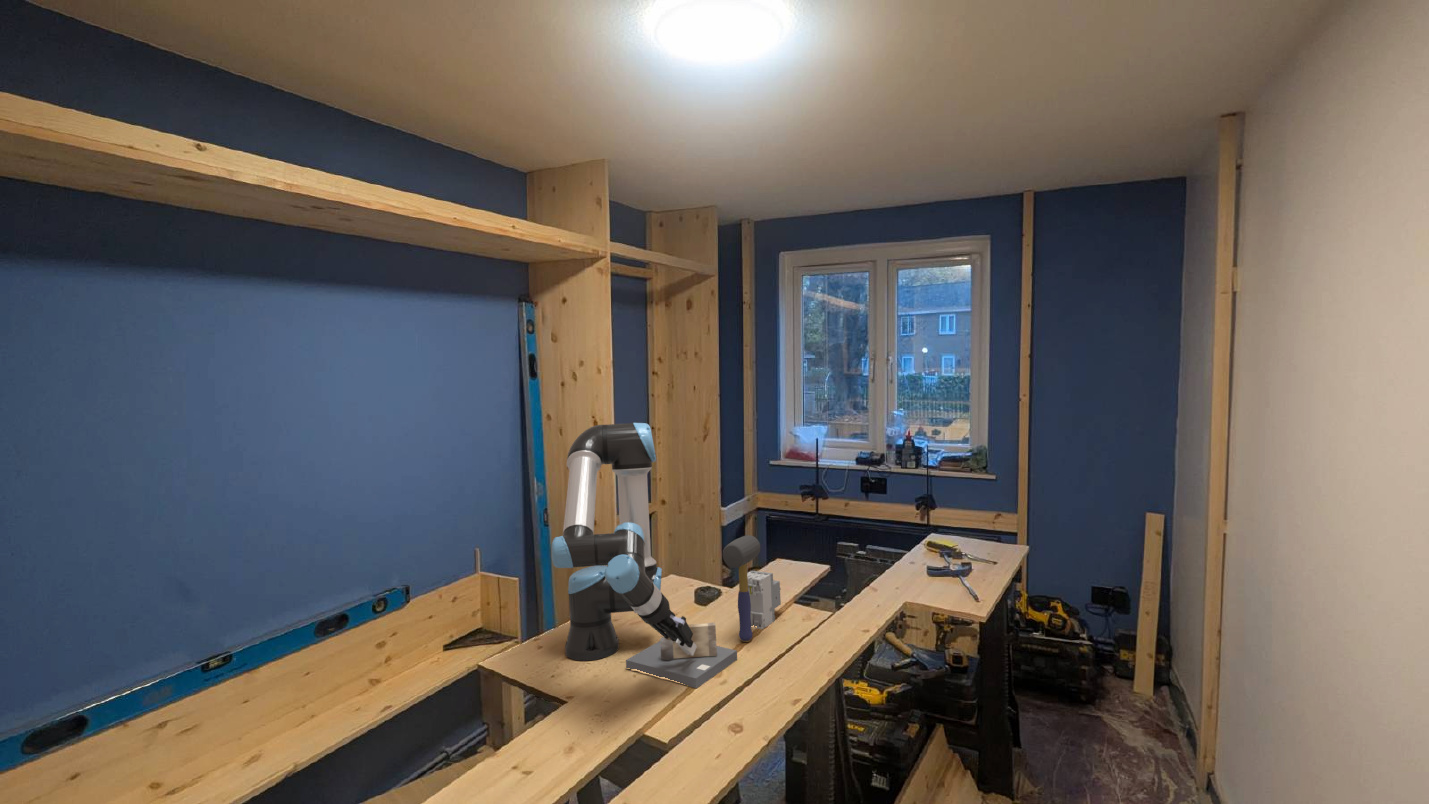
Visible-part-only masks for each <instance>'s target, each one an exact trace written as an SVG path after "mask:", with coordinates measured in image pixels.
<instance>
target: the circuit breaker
mask: <svg viewBox="0 0 1429 804" xmlns="http://www.w3.org/2000/svg"><path fill="white" fill-rule="evenodd" d="M747 577H748V591H749V595H750V602H751V614H750V619H751V626H753V625H754V627H755V626H757V628H756V629H758V630H764V629H766V628H767V627H768V626H770V625H771V624H773V623H775V621H776V614H775V610H776V609H777V607H779V606H781V604H782V603H781V602H782V601H781V590H782V589H781V587H780V586H781V583H780V580H774V573H773V572H766V571H758V570H750V571H747Z"/></svg>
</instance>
